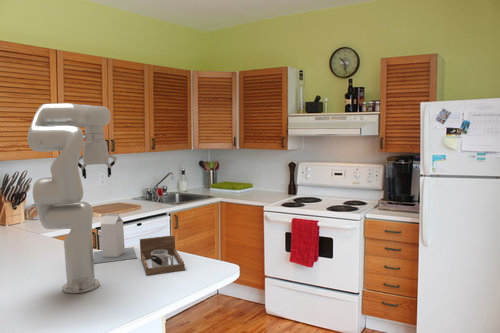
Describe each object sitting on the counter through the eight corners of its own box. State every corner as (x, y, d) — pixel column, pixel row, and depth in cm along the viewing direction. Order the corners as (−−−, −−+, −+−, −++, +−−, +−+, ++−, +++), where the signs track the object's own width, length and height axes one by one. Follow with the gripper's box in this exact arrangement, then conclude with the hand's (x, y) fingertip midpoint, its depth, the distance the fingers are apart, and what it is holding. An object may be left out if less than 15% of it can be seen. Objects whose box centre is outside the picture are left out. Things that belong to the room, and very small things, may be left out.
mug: (148, 269, 177) (147, 253, 176) (159, 264, 183) (158, 248, 182) (168, 272, 172) (167, 256, 172) (178, 267, 178) (177, 251, 177)
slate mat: (136, 258, 191) (136, 257, 191) (93, 264, 186) (93, 263, 186) (133, 247, 208) (133, 247, 208) (93, 252, 203) (93, 251, 202)
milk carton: (117, 257, 193) (114, 215, 191) (102, 257, 194) (99, 215, 192) (125, 252, 199) (122, 211, 198) (110, 252, 201) (108, 211, 199)
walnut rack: (184, 270, 174) (183, 248, 173) (146, 275, 169) (145, 253, 168) (175, 254, 195) (174, 235, 194) (140, 259, 190) (139, 239, 189)
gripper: (72, 138, 180) (74, 179, 182) (116, 137, 185) (118, 177, 187) (73, 138, 187) (76, 178, 189) (115, 137, 193) (117, 175, 194)
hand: (97, 177), depth 188 cm, fingers open, 9 cm apart
